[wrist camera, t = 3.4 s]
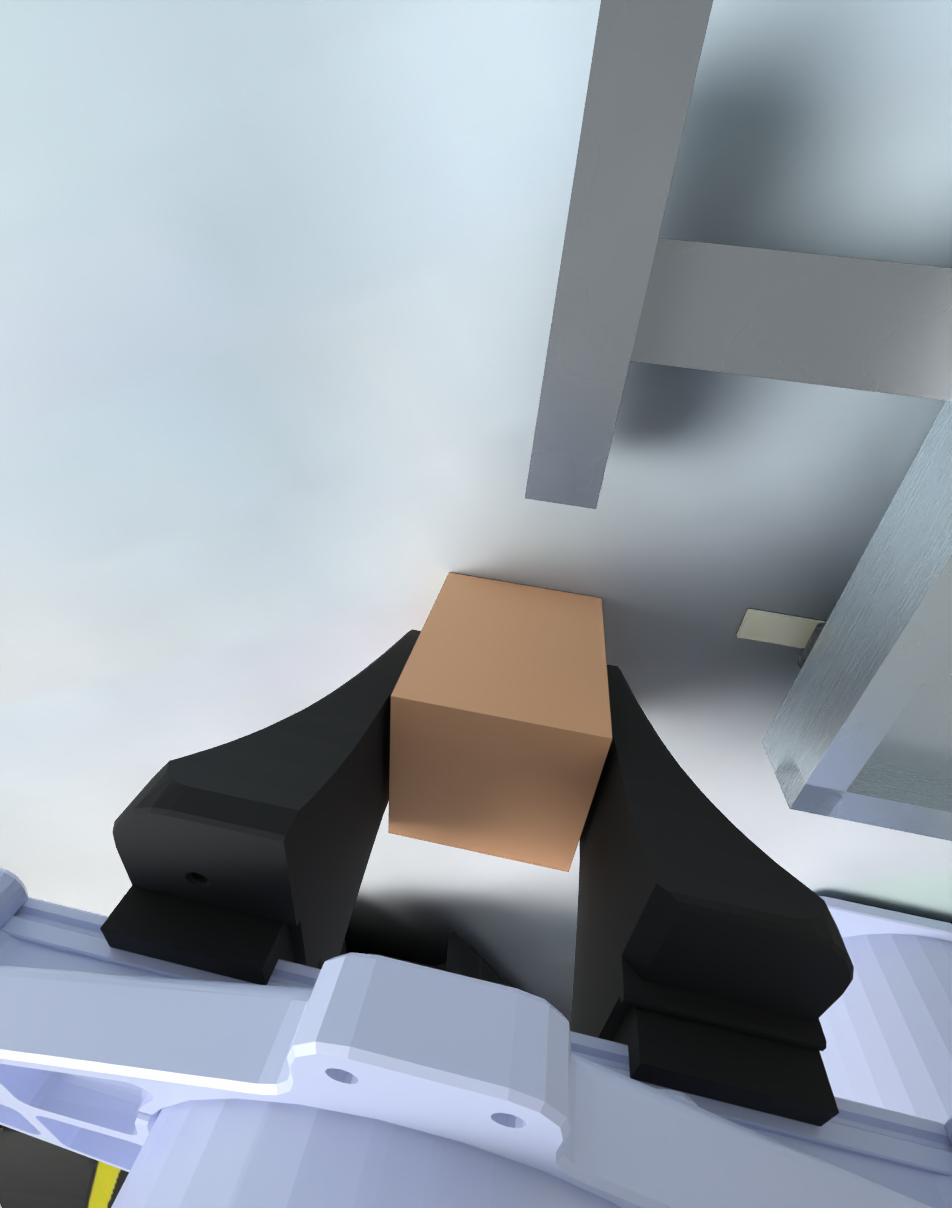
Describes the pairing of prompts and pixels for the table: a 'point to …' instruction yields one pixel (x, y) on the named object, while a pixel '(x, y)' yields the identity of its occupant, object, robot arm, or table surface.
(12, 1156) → the racing car
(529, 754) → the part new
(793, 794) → the beam with t-bracket
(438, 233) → the table surface
